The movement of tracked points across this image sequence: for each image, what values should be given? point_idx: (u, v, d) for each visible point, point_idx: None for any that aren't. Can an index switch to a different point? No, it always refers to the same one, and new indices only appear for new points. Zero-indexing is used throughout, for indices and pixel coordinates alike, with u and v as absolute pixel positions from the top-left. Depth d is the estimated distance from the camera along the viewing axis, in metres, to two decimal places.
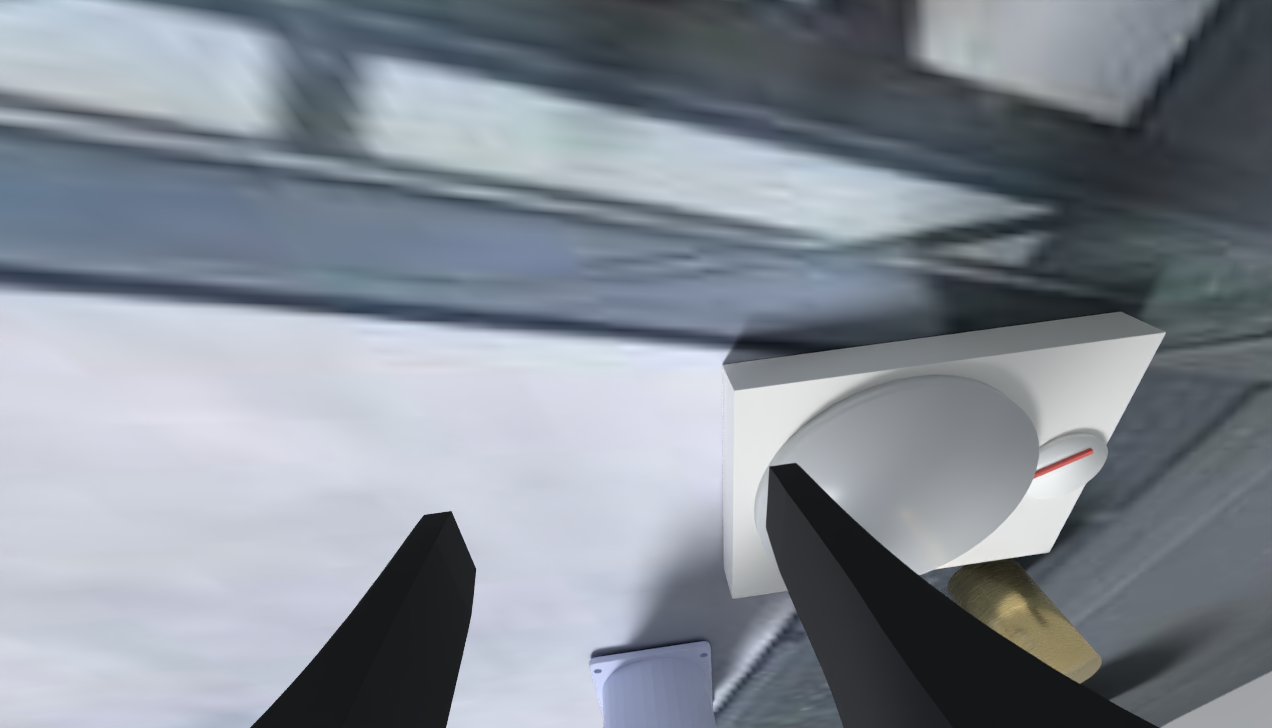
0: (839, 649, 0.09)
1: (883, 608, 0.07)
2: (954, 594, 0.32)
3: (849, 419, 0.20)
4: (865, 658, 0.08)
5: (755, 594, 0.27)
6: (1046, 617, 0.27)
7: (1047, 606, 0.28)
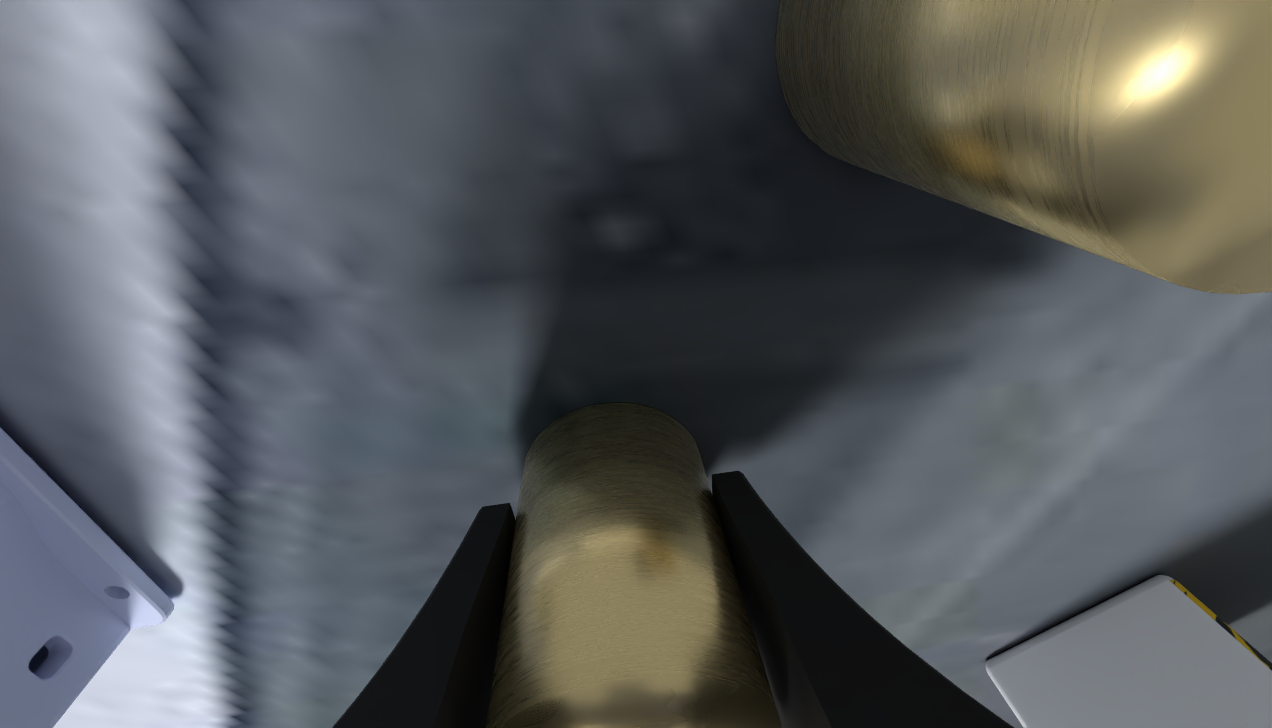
0: (767, 661, 0.09)
1: (797, 621, 0.07)
2: (790, 53, 0.08)
3: None
4: (783, 671, 0.08)
5: None
6: None
7: None
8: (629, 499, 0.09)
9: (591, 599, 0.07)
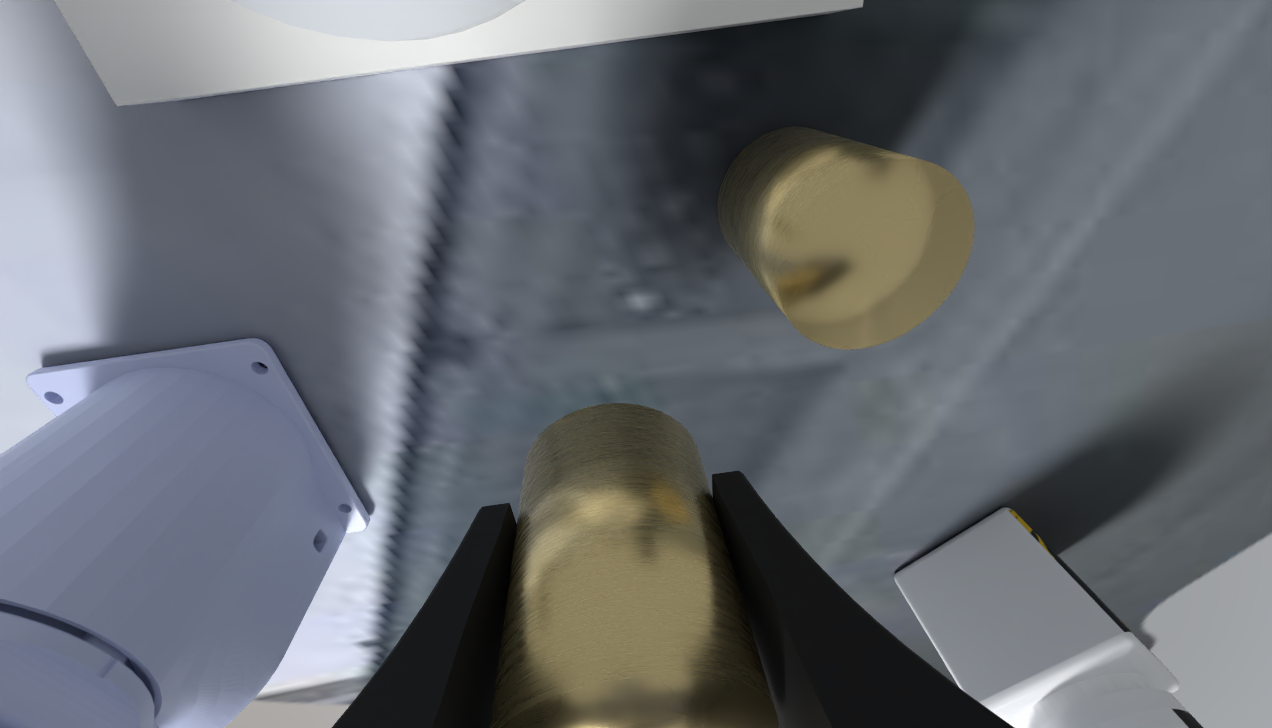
0: (767, 660, 0.09)
1: (797, 621, 0.07)
2: (722, 224, 0.16)
3: None
4: (784, 671, 0.08)
5: (168, 93, 0.12)
6: (853, 145, 0.12)
7: (865, 144, 0.12)
8: (629, 501, 0.09)
9: (592, 601, 0.07)
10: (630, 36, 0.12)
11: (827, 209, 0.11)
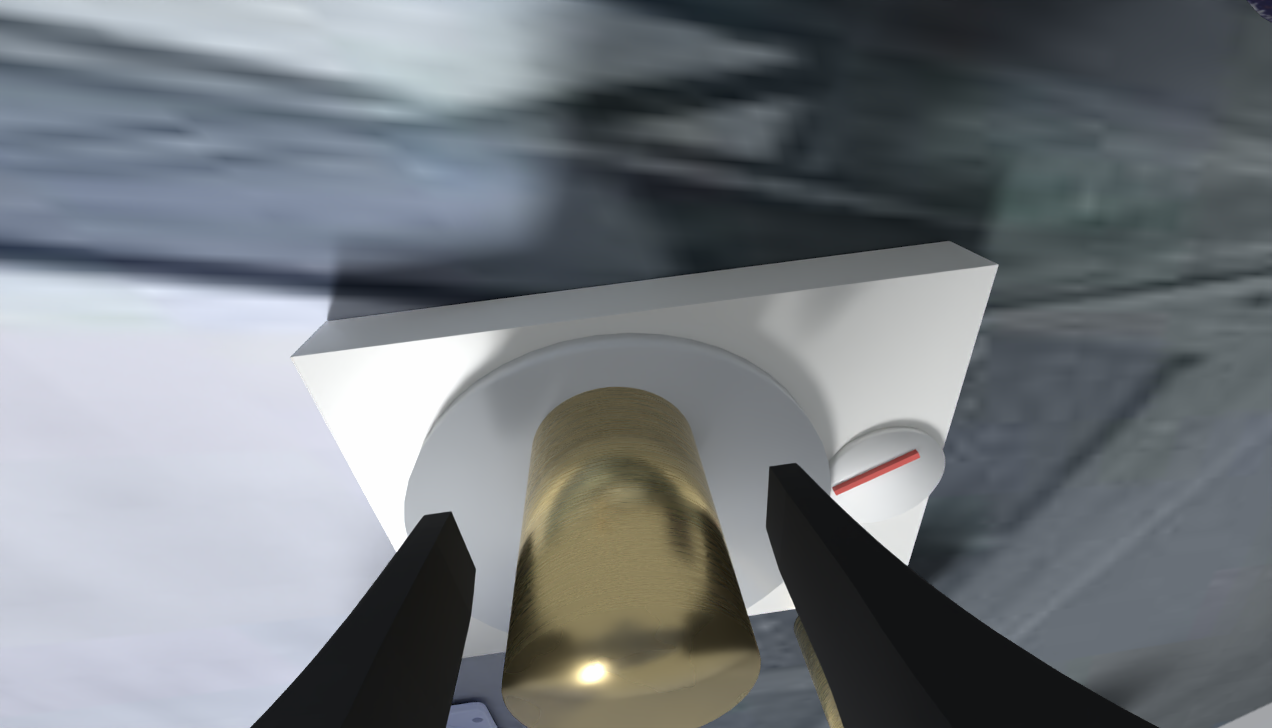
0: (839, 650, 0.09)
1: (883, 608, 0.07)
2: (798, 642, 0.24)
3: (485, 404, 0.12)
4: (865, 658, 0.08)
5: (486, 653, 0.20)
6: None
7: None
8: (621, 468, 0.10)
9: (587, 550, 0.08)
10: None
11: None
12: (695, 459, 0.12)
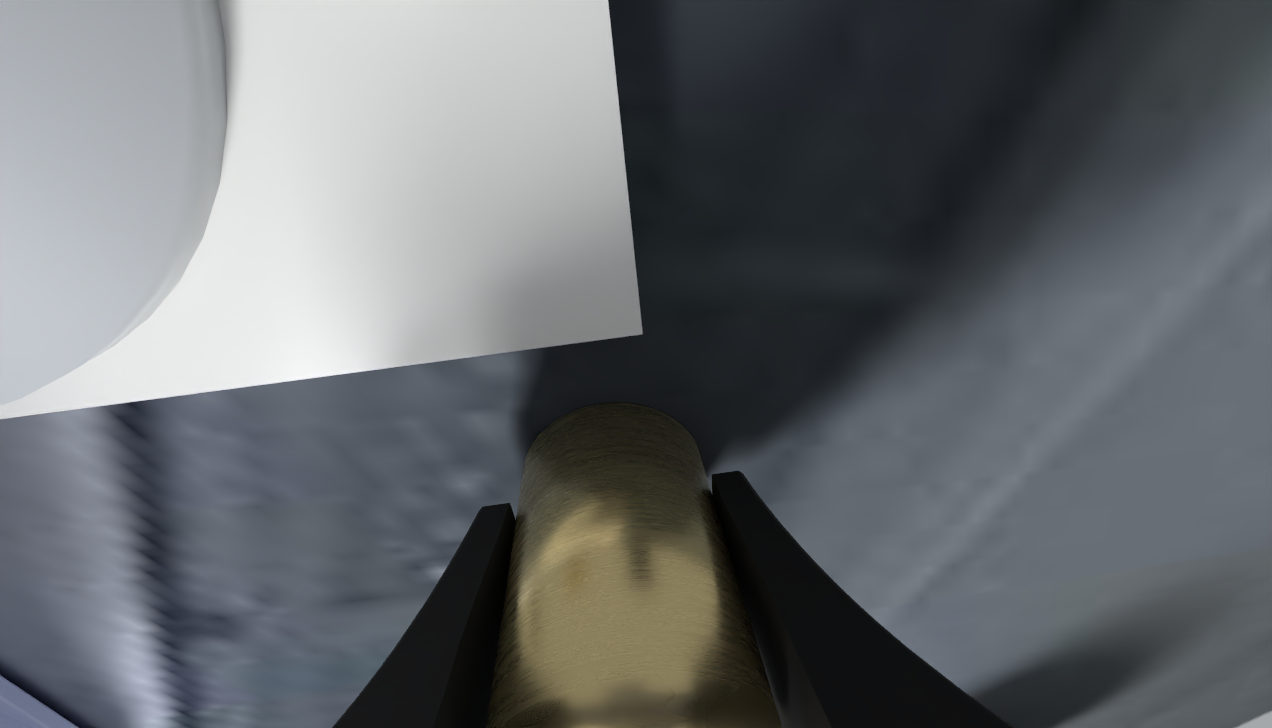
0: (767, 660, 0.09)
1: (797, 621, 0.07)
2: None
3: None
4: (783, 671, 0.08)
5: None
6: (617, 553, 0.08)
7: (653, 520, 0.09)
8: None
9: None
10: (294, 379, 0.08)
11: (534, 726, 0.07)
12: None
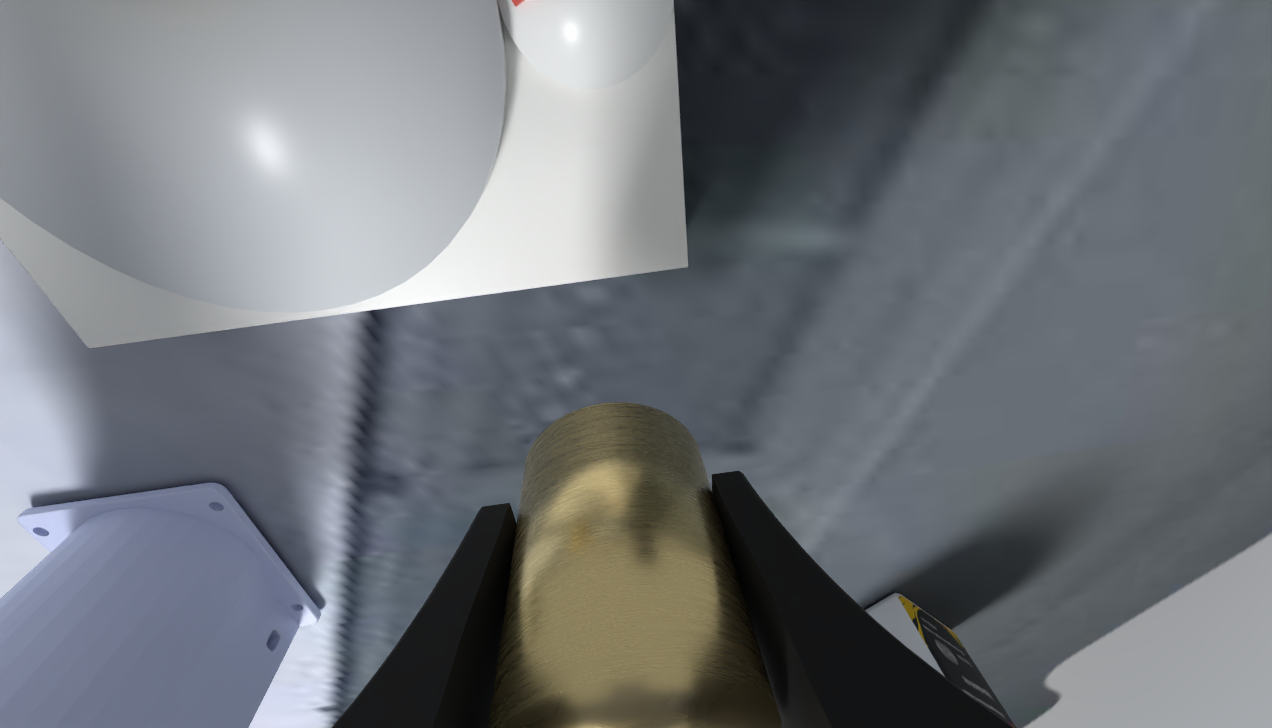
0: (767, 660, 0.09)
1: (797, 621, 0.07)
2: None
3: None
4: (783, 671, 0.08)
5: (129, 339, 0.15)
6: (617, 552, 0.08)
7: (653, 519, 0.09)
8: None
9: None
10: (500, 292, 0.15)
11: (535, 724, 0.07)
12: None
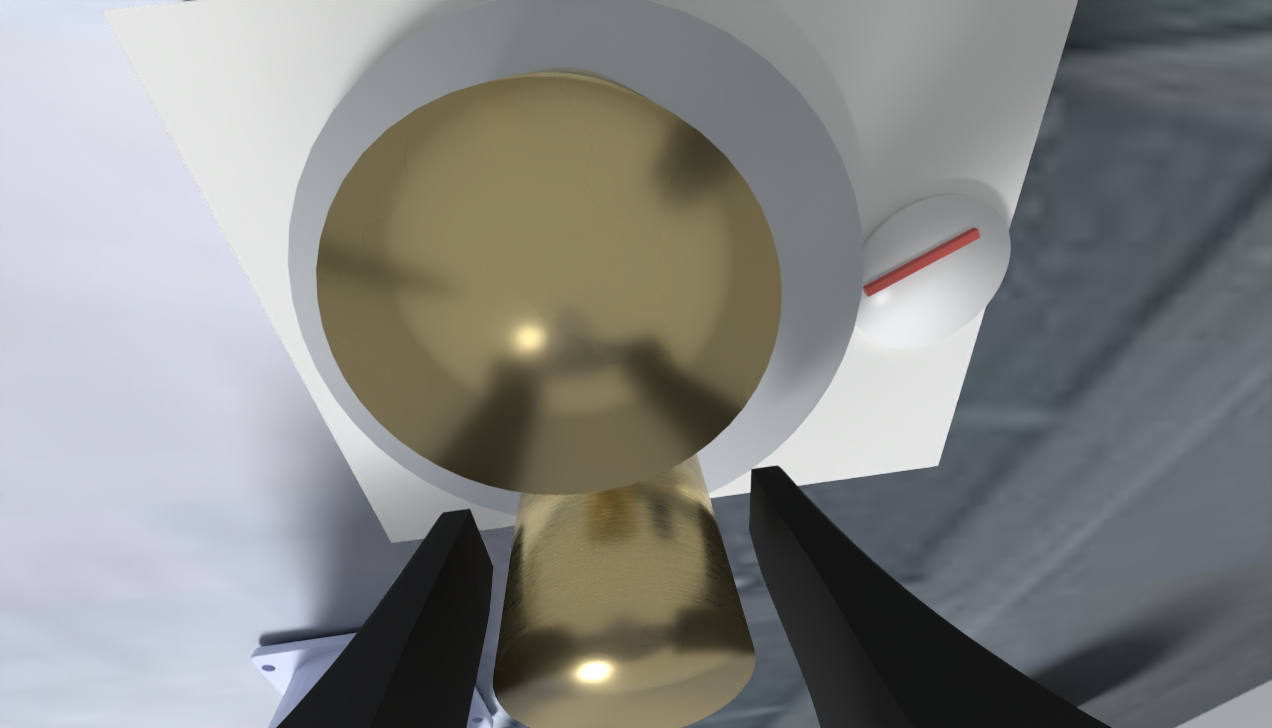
0: (816, 653, 0.09)
1: (856, 612, 0.07)
2: None
3: (384, 88, 0.09)
4: (839, 662, 0.08)
5: None
6: (601, 506, 0.09)
7: None
8: (557, 70, 0.06)
9: None
10: None
11: (533, 650, 0.08)
12: None
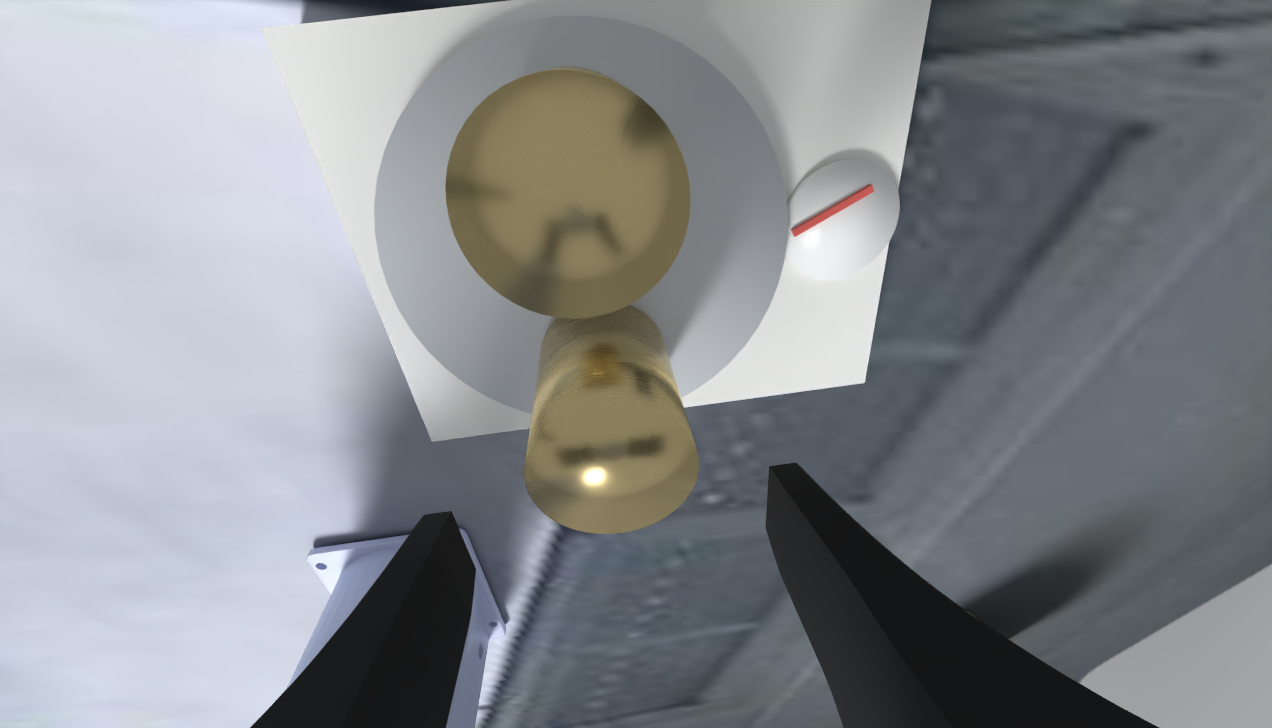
0: (839, 649, 0.09)
1: (883, 608, 0.07)
2: None
3: (448, 80, 0.13)
4: (865, 658, 0.08)
5: (462, 435, 0.20)
6: (595, 363, 0.13)
7: (618, 350, 0.14)
8: None
9: None
10: None
11: (551, 443, 0.12)
12: None
